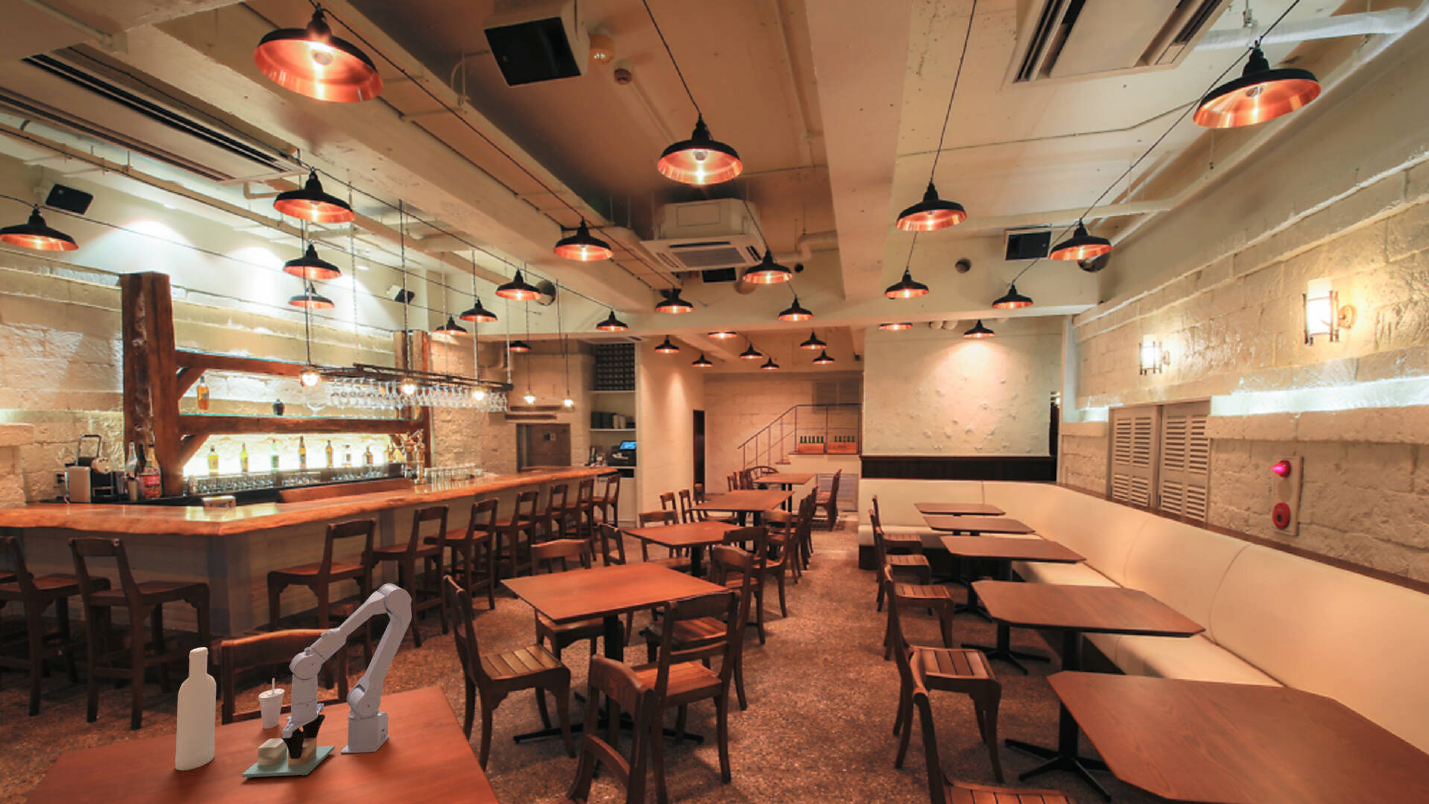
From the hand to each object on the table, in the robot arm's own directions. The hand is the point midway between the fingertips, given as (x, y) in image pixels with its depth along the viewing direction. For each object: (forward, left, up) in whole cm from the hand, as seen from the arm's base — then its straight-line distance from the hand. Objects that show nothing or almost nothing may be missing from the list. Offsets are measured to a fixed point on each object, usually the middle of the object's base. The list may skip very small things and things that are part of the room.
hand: (303, 751), depth 155 cm
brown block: (0, 0, -2) cm, 2 cm away
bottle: (+30, -4, -4) cm, 31 cm away
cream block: (+8, 0, -2) cm, 8 cm away
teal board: (+4, 0, -4) cm, 5 cm away
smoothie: (+24, -23, -4) cm, 33 cm away
